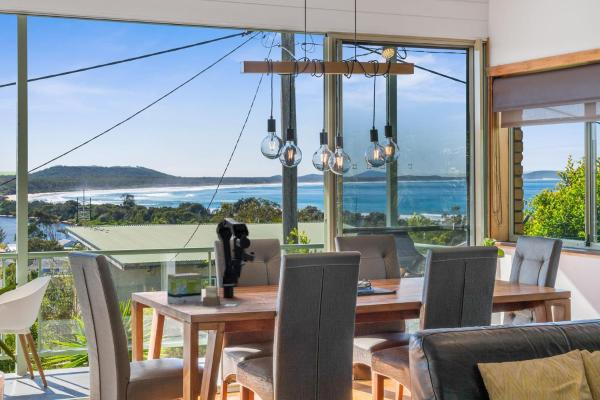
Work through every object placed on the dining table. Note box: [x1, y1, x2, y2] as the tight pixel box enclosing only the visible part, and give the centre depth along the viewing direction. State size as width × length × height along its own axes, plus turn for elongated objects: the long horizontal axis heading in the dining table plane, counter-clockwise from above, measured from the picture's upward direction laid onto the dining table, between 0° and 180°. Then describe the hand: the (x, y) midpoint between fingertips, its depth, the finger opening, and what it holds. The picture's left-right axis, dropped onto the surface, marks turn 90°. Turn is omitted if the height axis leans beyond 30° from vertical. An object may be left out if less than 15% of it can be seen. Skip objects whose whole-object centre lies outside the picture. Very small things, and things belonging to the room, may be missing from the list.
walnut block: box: [202, 295, 221, 307], centre depth 424 cm, size 7×7×4 cm
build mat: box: [193, 300, 244, 308], centre depth 426 cm, size 16×22×1 cm
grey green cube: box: [205, 285, 219, 298], centre depth 423 cm, size 5×5×5 cm
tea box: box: [166, 272, 203, 305], centre depth 436 cm, size 15×10×15 cm, turn 126°
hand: (239, 277), depth 432 cm, fingers closed
